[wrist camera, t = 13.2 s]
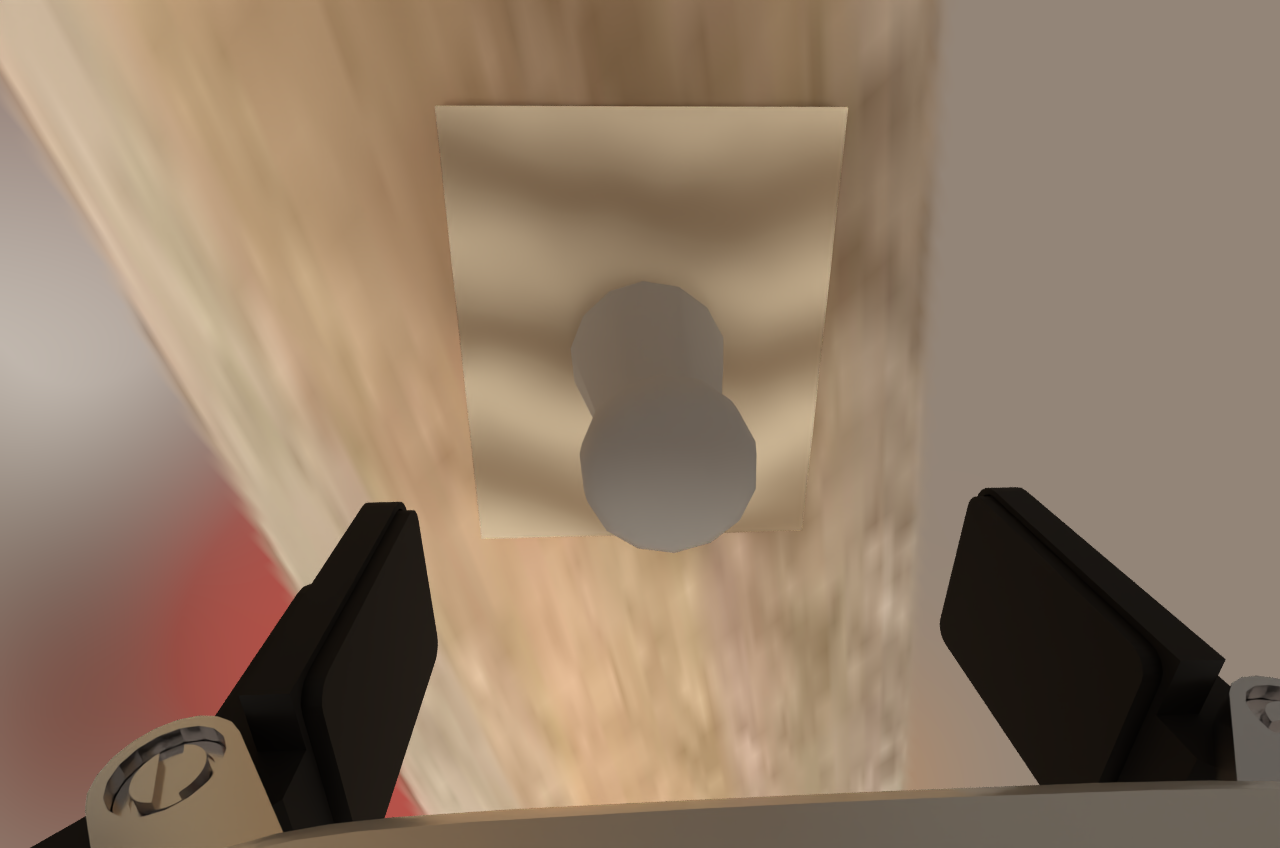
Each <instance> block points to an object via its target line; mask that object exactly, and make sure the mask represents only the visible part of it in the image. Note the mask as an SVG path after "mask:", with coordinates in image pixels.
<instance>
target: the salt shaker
mask: <svg viewBox="0 0 1280 848" xmlns="http://www.w3.org/2000/svg"><path fill="white" fill-rule="evenodd" d="M571 356H572V365H573V374H574V381H575V383H576V385H577V387H578V389H579V391H580V393H581V395H582V397H583V399H584V401H585V403H586V405H587V407H588V409H589V411H590V413H591V415H592V417H593V418H592V421H591V423H590V425H589V428H588V430H587V432H586V435H585V437H584V440H583V442H582V445H581V450H580V463H581V471H582V480H583V488H584V492H585V496H586V499H587V502H588V503H589V505H590V506H591V508H592V509H593V511H594V513H595V514H596V516H597V517H598V519H599V520H600V522H601V523H602V525H603V526H604V528H605V529H606V531H608V532H610V533H612V534H613V535H615V536H617V537H619V538H621V539H622V540H624V541H626V542H628V543H629V544H631V545H633V546H635V547H637V548H640V549H648V550H656V551H664V552H671V553H676V552H679V551H683V550H686V549H690V548H693V547H697V546H700V545H704V544H707V543H711V542H712V541H713V540H715V539H716V538H717V537H719V536H720V535H721V534H723V533H724V532H725V531H726V530H728V529H729V528H730V527H732V526H733V525H734V524H736V523H737V522H738V521H740V519H741V517H742V515H743V513H744V511H745V509H746V507H747V505H748V503H749V501H750V499H751V497H752V495H753V493H754V492H755V490H756V459H757V453H756V442H755V440H754V438H753V436H752V434H751V432H750V431H749V429H748V427H747V425H746V423H745V421H744V420H743V418H742V416H741V414H740V412H739V411H738V409H737V408H736V406H735V405H734V403H733V402H732V401H731V400H730V399H729V398H727V397H726V396H724V395H723V394H722V378H723V336H722V334H721V332H720V330H719V329H718V327H717V325H716V323H715V321H714V319H713V317H712V316H711V314H710V312H709V310H708V308H707V307H706V306H704V305H703V304H702V303H700V302H699V301H698V300H696V299H695V298H693V297H692V296H691V295H689V294H688V293H687V292H685V291H684V290H682V289H681V288H680V287H677V286H671V285H665V284H658V283H652V282H646V281H641V282H638V283H635V284H631V285H628V286H625V287H621V288H618V289H615V290H611V291H609V292H608V293H607V294H606V295H605V296H604V297H603V298H602V299H601V300H600V301H599V302H598V303H596V304H595V305H594V306H593V307H592V308H591V309H590V310H589V311H588V312H587V313H586V314H585V315H584V316H583V318H582V320H581V323H580V325H579V328H578V331H577V333H576V336H575V338H574V341H573V344H572V346H571Z"/></svg>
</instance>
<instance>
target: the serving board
mask: <svg viewBox="0 0 1280 848" xmlns="http://www.w3.org/2000/svg"><path fill="white" fill-rule="evenodd" d="M847 113H848V107H683V106H435V114H436V123H437V132H438V142H439V151H440V160H441V169H442V179H443V188H444V197H445V206H446V216H447V225H448V234H449V244H450V253H451V262H452V271H453V281H454V290H455V299H456V308H457V318H458V327H459V336H460V345H461V355H462V364H463V373H464V383H465V392H466V401H467V410H468V420H469V429H470V438H471V447H472V457H473V466H474V475H475V484H476V494H477V503H478V512H479V521H480V531H481V539H497V538H536V537H575V536H614V535H613V534H612V533H610V532H608V531H606V529H605V528H604V526H603V525H602V523H601V522H600V520H599V519H598V517H597V516H596V514H595V513H594V511H593V509H592V508H591V506H590V505H589V503H588V502H587V499H586V496H585V492H584V488H583V480H582V471H581V463H580V450H581V445H582V442H583V440H584V437H585V435H586V432H587V430H588V428H589V425H590V423H591V421H592V418H593V417H592V415H591V413H590V411H589V409H588V407H587V405H586V403H585V401H584V399H583V397H582V395H581V393H580V391H579V389H578V387H577V385H576V383H575V381H574V374H573V365H572V356H571V346H572V344H573V341H574V338H575V336H576V333H577V331H578V328H579V325H580V323H581V320H582V318H583V316H584V315H585V314H586V313H587V312H588V311H589V310H590V309H591V308H592V307H593V306H594V305H595V304H596V303H598V302H599V301H600V300H601V299H602V298H603V297H604V296H605V295H606V294H607V293H608V292H609V291H611V290H615V289H618V288H621V287H625V286H628V285H631V284H635V283H638V282H641V281H646V282H652V283H658V284H665V285H671V286H677V287H680V288H681V289H682V290H684V291H685V292H687V293H688V294H689V295H691V296H692V297H693V298H695V299H696V300H698V301H699V302H700V303H702V304H703V305H704V306H706V307H707V308H708V310H709V312H710V314H711V316H712V317H713V319H714V321H715V323H716V325H717V327H718V329H719V330H720V332H721V334H722V336H723V378H722V394H723V395H724V396H726V397H727V398H729V399H730V400H731V401H732V402H733V403H734V405H735V406H736V408H737V409H738V411H739V412H740V414H741V416H742V418H743V420H744V421H745V423H746V425H747V427H748V429H749V431H750V432H751V434H752V436H753V438H754V440H755V442H756V453H757V459H756V490H755V492H754V493H753V495H752V497H751V499H750V501H749V503H748V505H747V507H746V509H745V511H744V513H743V515H742V517H741V519H740V521H738V522H737V523H736V524H734V525H733V526H732V527H730V528H729V529H728V530H726V531H725V532H724V533H730V532H769V531H802V526H803V517H804V508H805V499H806V490H807V480H808V471H809V462H810V453H811V444H812V434H813V425H814V416H815V407H816V398H817V389H818V379H819V370H820V361H821V352H822V343H823V334H824V324H825V315H826V306H827V297H828V288H829V279H830V269H831V260H832V251H833V242H834V233H835V224H836V214H837V205H838V196H839V187H840V178H841V168H842V159H843V150H844V141H845V132H846V123H847Z"/></svg>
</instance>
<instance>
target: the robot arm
mask: <svg viewBox="0 0 1280 848" xmlns="http://www.w3.org/2000/svg"><path fill="white" fill-rule="evenodd" d="M940 631H941V635H942V638H943V640H944V642H945V644H946V646H947V647H948V649H949V650H950V651H951V653H952V655H953V656H954V657H955V659H956V660H957V662H958V663H959V665H960V667H961V668H962V669H963V671H964V672H965V674H966V675H967V677H968V678H969V680H970V681H971V683H972V684H973V686H974V687H975V689H976V690H977V692H978V693H979V695H980V696H981V698H982V699H983V701H984V702H985V704H986V705H987V706H988V708H989V710H990V711H991V713H992V714H993V716H994V717H995V719H996V720H997V722H998V723H999V725H1000V726H1001V728H1002V729H1003V731H1004V732H1005V734H1006V735H1007V737H1008V738H1009V740H1010V741H1011V743H1012V744H1013V746H1014V747H1015V749H1016V750H1017V752H1018V753H1019V755H1020V756H1021V758H1022V759H1023V761H1024V762H1025V763H1026V765H1027V767H1028V768H1029V770H1030V771H1031V773H1032V774H1033V776H1034V777H1035V779H1036V780H1037V782H1038V783H1039V785H1032V786H1031V785H1030V786H1005V787H982V788H980V787H979V788H954V789H930V790H929V789H928V790H905V791H882V792H859V793H837V794H814V795H792V796H770V797H749V798H727V799H705V800H685V801H666V802H646V803H627V804H607V805H587V806H568V807H548V808H529V809H510V810H496V811H481V812H466V813H452V814H437V815H422V816H408V817H393V818H385V815H386V812H387V809H388V806H389V803H390V799H391V796H392V793H393V790H394V787H395V784H396V781H397V778H398V775H399V772H400V769H401V766H402V762H403V759H404V756H405V753H406V750H407V747H408V744H409V741H410V738H411V735H412V732H413V728H414V725H415V722H416V719H417V716H418V713H419V710H420V707H421V704H422V701H423V698H424V695H425V691H426V688H427V685H428V682H429V679H430V676H431V673H432V670H433V667H434V664H435V660H436V656H437V648H438V639H437V631H436V625H435V619H434V613H433V607H432V601H431V594H430V588H429V582H428V576H427V570H426V564H425V558H424V552H423V545H422V539H421V533H420V527H419V521H418V516H417V513H416V512H415V511H414V510H406V507H405V505H404V504H403V503H402V502H376V503H365V504H364V505H363V506H362V508H361V509H360V511H359V512H358V514H357V515H356V517H355V518H354V520H353V521H352V523H351V525H350V526H349V528H348V529H347V531H346V532H345V534H344V535H343V537H342V538H341V540H340V541H339V543H338V544H337V546H336V547H335V549H334V550H333V552H332V554H331V555H330V557H329V558H328V560H327V561H326V563H325V564H324V566H323V567H322V569H321V570H320V572H319V573H318V575H317V576H316V578H315V579H314V581H313V583H312V584H309V585H307V586H304V587H303V588H302V589H301V590H300V591H299V592H298V593H297V595H296V596H295V598H294V599H293V601H292V602H291V604H290V605H289V607H288V609H287V610H286V611H285V613H284V614H283V616H282V617H281V619H280V620H279V622H278V623H277V625H276V626H275V628H274V629H273V631H272V632H271V634H270V635H269V637H268V638H267V640H266V641H265V643H264V644H263V646H262V647H261V648H260V650H259V652H258V653H257V654H256V656H255V657H254V659H253V660H252V662H251V663H250V665H249V666H248V668H247V670H246V671H245V672H244V674H243V675H242V677H241V678H240V680H239V681H238V683H237V684H236V686H235V687H234V689H233V690H232V692H231V693H230V695H229V696H228V698H227V699H226V700H225V702H224V703H223V705H222V706H221V708H220V710H219V711H218V713H217V714H216V715H215V716H196V717H190V718H185V719H181V720H177V721H174V722H172V723H169V724H166V725H164V726H161V727H159V728H156V729H154V730H152V731H151V732H149V733H147V734H145V735H144V736H142V737H140V738H138V739H137V740H135V741H133V742H132V743H131V744H129V745H128V746H127V747H126V748H124V749H123V750H122V751H120V752H119V753H118V754H117V755H115V756H114V757H113V758H112V759H111V760H110V761H109V762H108V764H107V765H106V766H105V767H104V768H103V769H102V770H101V772H100V773H99V774H98V775H97V776H96V778H95V780H94V782H93V784H92V786H91V788H90V790H89V791H88V793H87V799H86V807H85V813H86V816H85V817H84V818H82V819H80V820H78V821H77V822H75V823H73V824H71V825H70V826H68V827H66V828H64V829H63V830H61V831H59V832H57V833H55V834H54V835H52V836H50V837H48V838H47V839H45V840H43V841H41V842H40V843H38V844H36V845H35V846H33V847H31V848H1280V679H1278V678H1271V677H1263V676H1249V677H1241V678H1240V679H1238V680H1237V681H1235V682H1233V683H1232V684H1231V686H1229V685H1228V684H1227V683H1226V682H1225V681H1224V680H1222V679H1221V678H1220V677H1219V676H1218V674H1219V672H1220V670H1221V668H1222V666H1223V664H1224V662H1225V659H1224V658H1223V657H1222V656H1221V655H1220V654H1219V653H1217V652H1216V651H1215V650H1214V649H1213V648H1211V647H1210V646H1209V645H1208V644H1207V643H1206V642H1204V641H1203V640H1202V639H1201V638H1200V637H1198V636H1197V635H1196V634H1195V633H1194V632H1193V631H1191V630H1190V629H1189V628H1188V627H1187V626H1185V625H1184V624H1183V623H1182V622H1181V621H1179V620H1178V619H1177V618H1176V617H1175V616H1173V615H1172V614H1171V613H1170V612H1169V611H1168V610H1167V609H1165V608H1164V607H1163V606H1162V605H1161V604H1159V603H1158V602H1157V601H1156V600H1155V599H1153V598H1152V597H1151V596H1150V595H1149V594H1148V593H1146V592H1145V591H1144V590H1143V589H1142V588H1140V587H1139V586H1138V585H1137V584H1136V583H1135V582H1133V581H1132V580H1131V579H1130V578H1129V577H1127V576H1126V575H1125V574H1124V573H1123V572H1121V571H1120V570H1119V569H1118V568H1117V567H1116V566H1114V565H1113V564H1112V563H1111V562H1110V561H1108V560H1107V559H1106V558H1105V557H1104V556H1102V555H1101V554H1100V553H1099V552H1098V551H1096V549H1094V548H1093V547H1092V546H1091V545H1090V544H1088V543H1087V542H1086V541H1085V540H1084V539H1083V538H1081V537H1080V536H1079V535H1077V534H1076V533H1075V532H1074V531H1073V530H1072V529H1071V528H1069V527H1068V526H1067V525H1066V524H1065V523H1064V522H1062V521H1061V520H1060V519H1059V518H1058V517H1057V516H1055V515H1054V514H1053V513H1052V512H1050V511H1049V510H1048V509H1047V508H1046V507H1044V506H1043V505H1042V504H1041V503H1040V502H1039V501H1038V500H1036V499H1035V498H1034V497H1033V496H1031V495H1030V494H1029V493H1028V492H1027V491H1026V490H1024V489H1022V488H1018V487H1017V488H1016V487H1009V488H985V489H983V490H981V492H980V493H979V494H978V497H973V498H972V499H971V500H970V502H969V504H968V508H967V512H966V516H965V520H964V524H963V528H962V532H961V536H960V540H959V545H958V549H957V553H956V557H955V561H954V565H953V570H952V574H951V577H950V582H949V586H948V590H947V594H946V598H945V602H944V606H943V610H942V614H941V619H940Z"/></svg>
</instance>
